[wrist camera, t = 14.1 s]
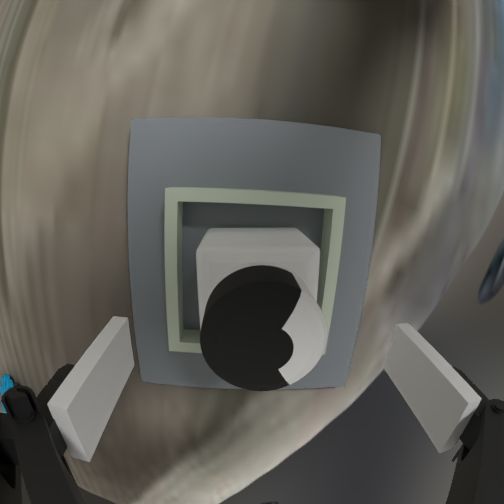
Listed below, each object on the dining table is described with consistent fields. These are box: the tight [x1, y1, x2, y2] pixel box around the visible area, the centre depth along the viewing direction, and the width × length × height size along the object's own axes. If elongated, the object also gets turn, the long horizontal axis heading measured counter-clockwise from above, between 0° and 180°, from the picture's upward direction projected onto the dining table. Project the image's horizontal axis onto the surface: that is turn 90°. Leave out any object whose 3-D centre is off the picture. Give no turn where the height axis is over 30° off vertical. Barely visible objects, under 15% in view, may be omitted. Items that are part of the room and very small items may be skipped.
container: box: [196, 228, 327, 391], centre depth 21 cm, size 8×8×13 cm
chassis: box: [128, 117, 381, 389], centre depth 27 cm, size 26×22×4 cm
